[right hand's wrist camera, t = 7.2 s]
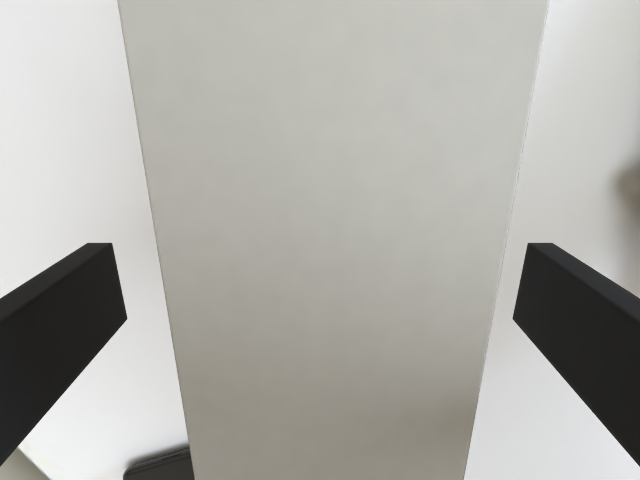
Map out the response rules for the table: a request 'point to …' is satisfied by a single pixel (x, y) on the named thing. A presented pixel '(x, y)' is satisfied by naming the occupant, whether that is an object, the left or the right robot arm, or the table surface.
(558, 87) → the table surface
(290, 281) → the bar
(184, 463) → the smartphone
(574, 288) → the right robot arm
